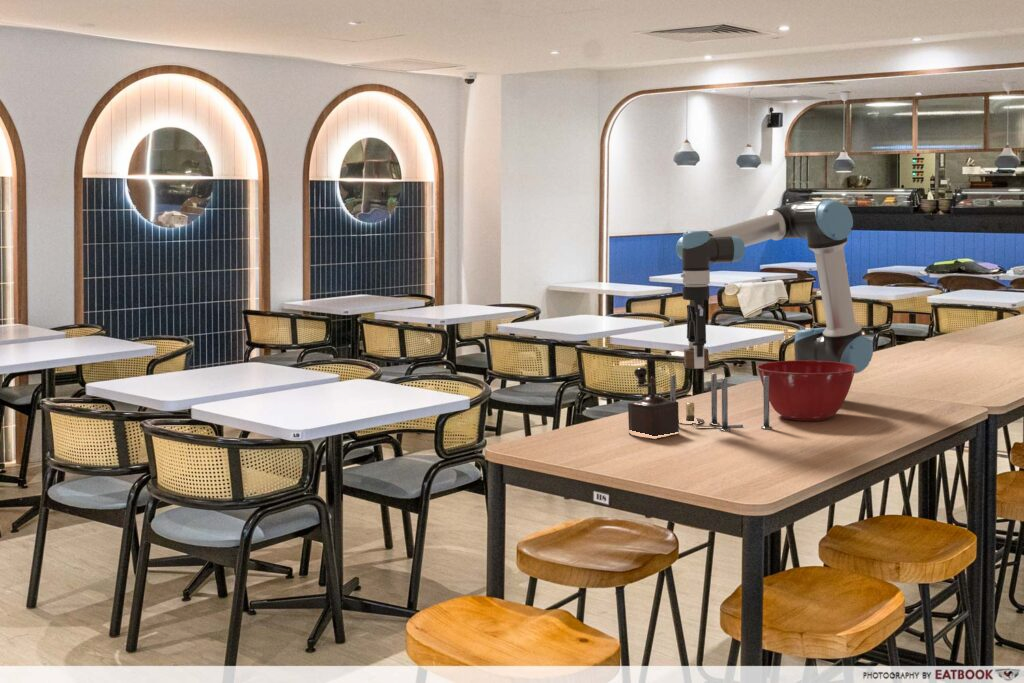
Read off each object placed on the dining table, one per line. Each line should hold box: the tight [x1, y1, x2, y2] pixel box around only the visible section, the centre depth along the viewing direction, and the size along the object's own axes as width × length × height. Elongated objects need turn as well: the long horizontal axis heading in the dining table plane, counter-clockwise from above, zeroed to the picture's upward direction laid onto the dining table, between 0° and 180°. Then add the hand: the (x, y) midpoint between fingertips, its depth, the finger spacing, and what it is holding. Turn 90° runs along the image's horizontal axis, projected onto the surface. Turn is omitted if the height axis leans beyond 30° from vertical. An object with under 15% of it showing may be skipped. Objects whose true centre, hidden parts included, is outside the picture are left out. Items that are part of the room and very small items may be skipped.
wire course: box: [669, 372, 773, 432], centre depth 329 cm, size 12×28×15 cm, turn 93°
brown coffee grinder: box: [627, 367, 680, 436], centre depth 324 cm, size 16×11×18 cm
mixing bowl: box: [756, 360, 856, 422], centre depth 340 cm, size 28×28×15 cm
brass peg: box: [685, 401, 705, 423], centre depth 338 cm, size 8×8×6 cm
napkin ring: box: [683, 347, 709, 370], centre depth 326 cm, size 6×6×5 cm
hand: (696, 366), depth 326 cm, fingers closed on napkin ring, 6 cm apart
